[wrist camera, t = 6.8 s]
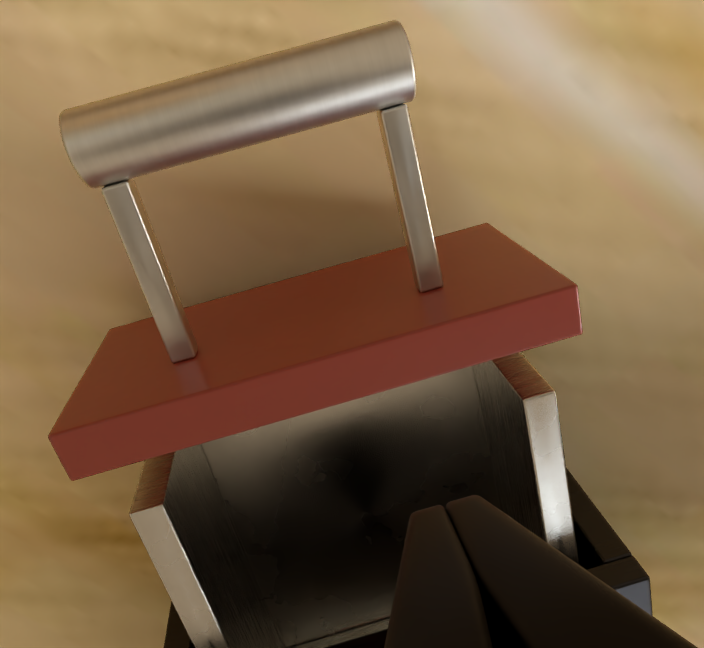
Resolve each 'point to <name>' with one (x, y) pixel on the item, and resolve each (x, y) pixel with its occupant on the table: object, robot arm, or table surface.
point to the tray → (311, 368)
